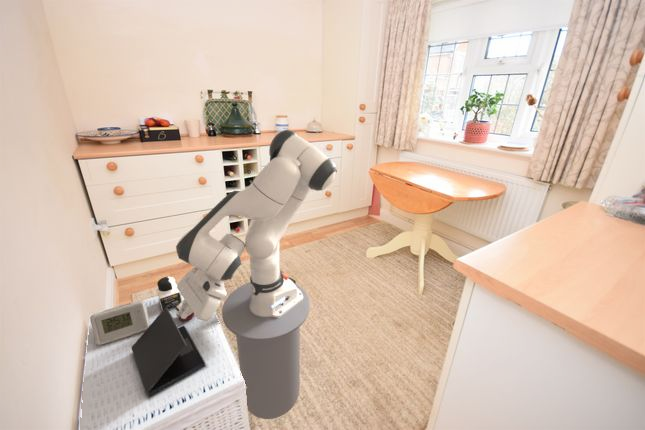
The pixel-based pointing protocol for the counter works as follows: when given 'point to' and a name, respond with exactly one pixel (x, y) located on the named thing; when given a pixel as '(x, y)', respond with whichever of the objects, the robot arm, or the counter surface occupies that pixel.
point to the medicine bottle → (168, 293)
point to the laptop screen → (157, 349)
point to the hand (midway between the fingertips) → (181, 316)
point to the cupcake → (178, 311)
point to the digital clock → (119, 322)
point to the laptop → (180, 365)
